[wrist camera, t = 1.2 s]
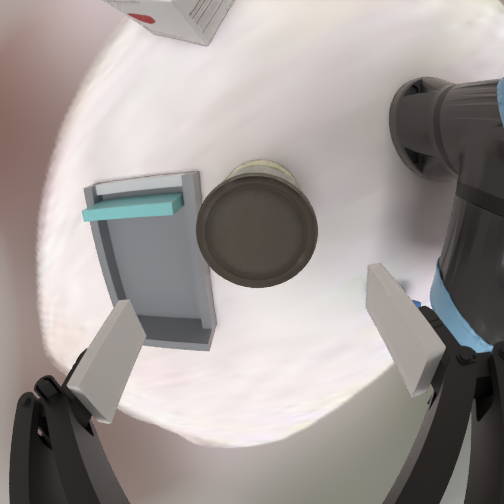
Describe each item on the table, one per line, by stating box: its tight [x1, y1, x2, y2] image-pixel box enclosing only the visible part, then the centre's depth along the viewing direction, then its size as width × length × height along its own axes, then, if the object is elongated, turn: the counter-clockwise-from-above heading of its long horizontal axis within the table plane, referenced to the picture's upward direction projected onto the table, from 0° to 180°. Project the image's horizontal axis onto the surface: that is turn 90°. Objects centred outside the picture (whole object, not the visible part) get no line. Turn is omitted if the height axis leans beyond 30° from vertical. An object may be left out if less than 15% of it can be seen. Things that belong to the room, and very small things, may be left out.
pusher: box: [82, 192, 184, 222], centre depth 33 cm, size 2×13×6 cm, turn 92°
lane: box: [84, 171, 217, 351], centre depth 37 cm, size 25×17×7 cm
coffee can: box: [196, 160, 318, 288], centre depth 29 cm, size 10×10×14 cm
